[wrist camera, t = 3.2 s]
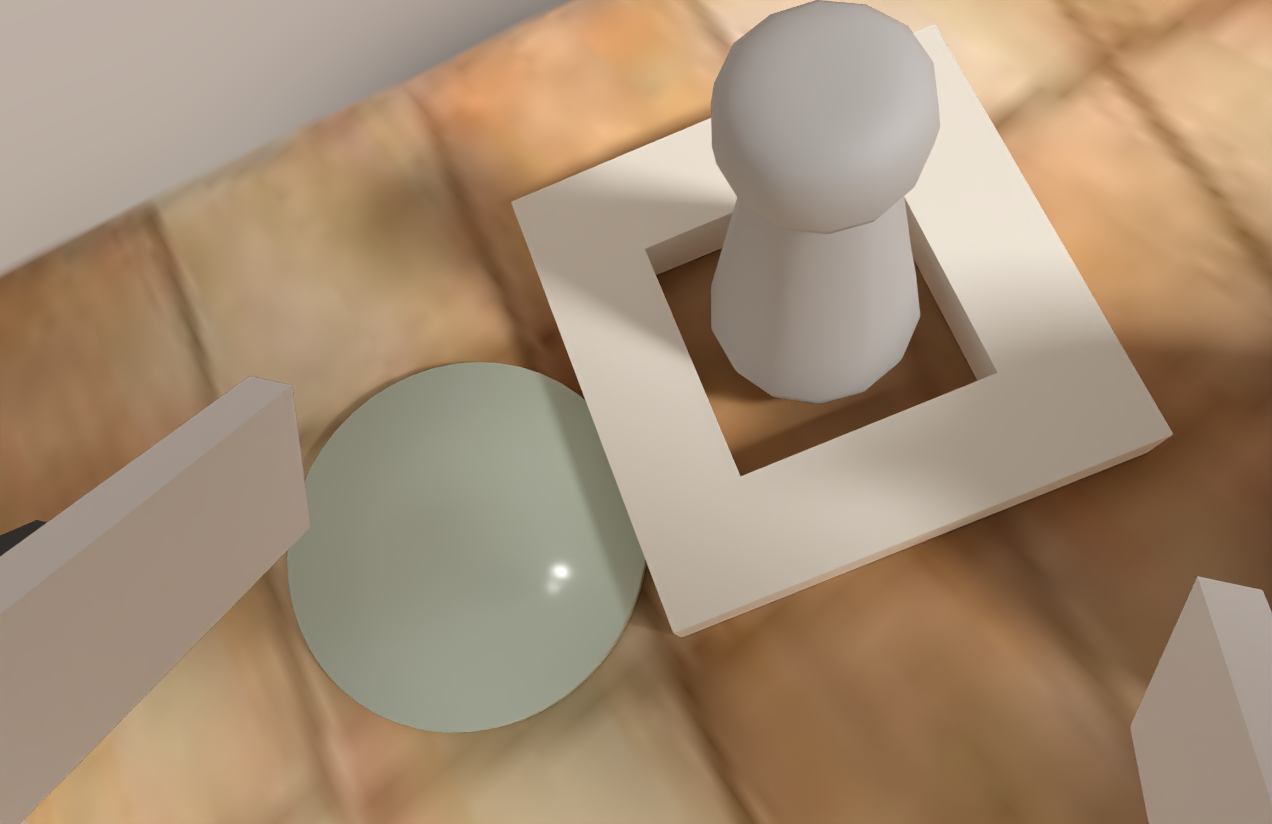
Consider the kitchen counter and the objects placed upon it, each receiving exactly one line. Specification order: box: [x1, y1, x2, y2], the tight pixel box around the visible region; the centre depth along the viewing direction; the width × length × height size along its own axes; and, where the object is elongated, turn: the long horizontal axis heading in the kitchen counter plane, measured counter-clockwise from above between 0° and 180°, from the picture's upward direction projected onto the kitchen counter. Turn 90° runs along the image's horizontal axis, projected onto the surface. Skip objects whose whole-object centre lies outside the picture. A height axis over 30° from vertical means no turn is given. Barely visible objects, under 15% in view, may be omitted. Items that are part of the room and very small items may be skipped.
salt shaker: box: [711, 0, 940, 404], centre depth 24 cm, size 6×6×13 cm
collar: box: [511, 24, 1173, 638], centre depth 29 cm, size 14×14×2 cm
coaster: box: [287, 362, 647, 733], centre depth 30 cm, size 11×11×1 cm
